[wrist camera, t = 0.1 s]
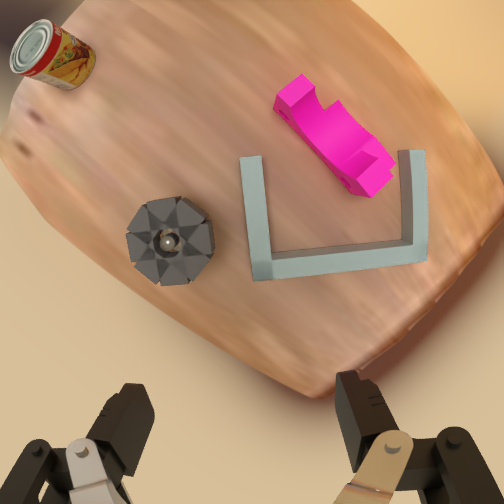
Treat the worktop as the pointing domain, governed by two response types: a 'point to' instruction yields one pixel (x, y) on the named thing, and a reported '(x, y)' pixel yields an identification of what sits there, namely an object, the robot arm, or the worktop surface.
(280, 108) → the toy block
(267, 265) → the grey u-shaped bracket
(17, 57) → the canned food
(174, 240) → the axle hub
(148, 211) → the wheel
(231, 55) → the worktop surface
